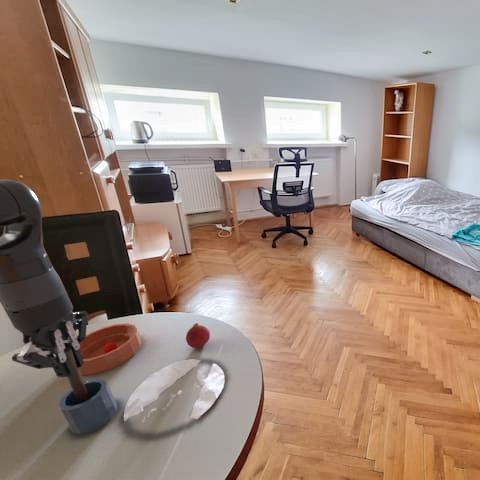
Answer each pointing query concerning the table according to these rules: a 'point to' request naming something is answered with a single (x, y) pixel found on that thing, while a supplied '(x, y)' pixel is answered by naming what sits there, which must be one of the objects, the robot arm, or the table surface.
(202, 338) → the onion
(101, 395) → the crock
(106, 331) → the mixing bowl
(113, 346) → the tomato
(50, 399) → the table surface
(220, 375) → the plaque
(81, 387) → the stick
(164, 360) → the table surface
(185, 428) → the table surface
